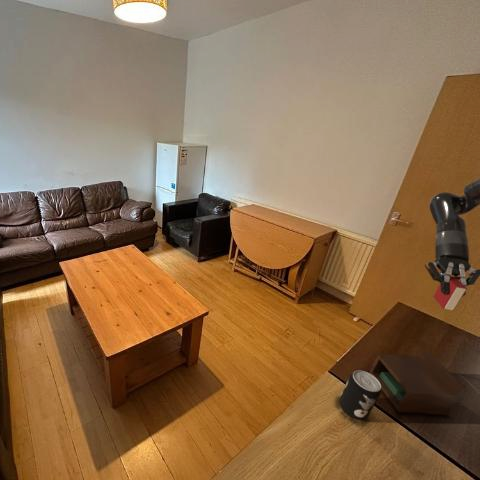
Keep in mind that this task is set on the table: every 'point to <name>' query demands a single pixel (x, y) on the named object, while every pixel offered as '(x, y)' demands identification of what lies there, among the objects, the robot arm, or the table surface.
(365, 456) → the table surface
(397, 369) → the bookshelf
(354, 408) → the beverage can
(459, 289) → the book
